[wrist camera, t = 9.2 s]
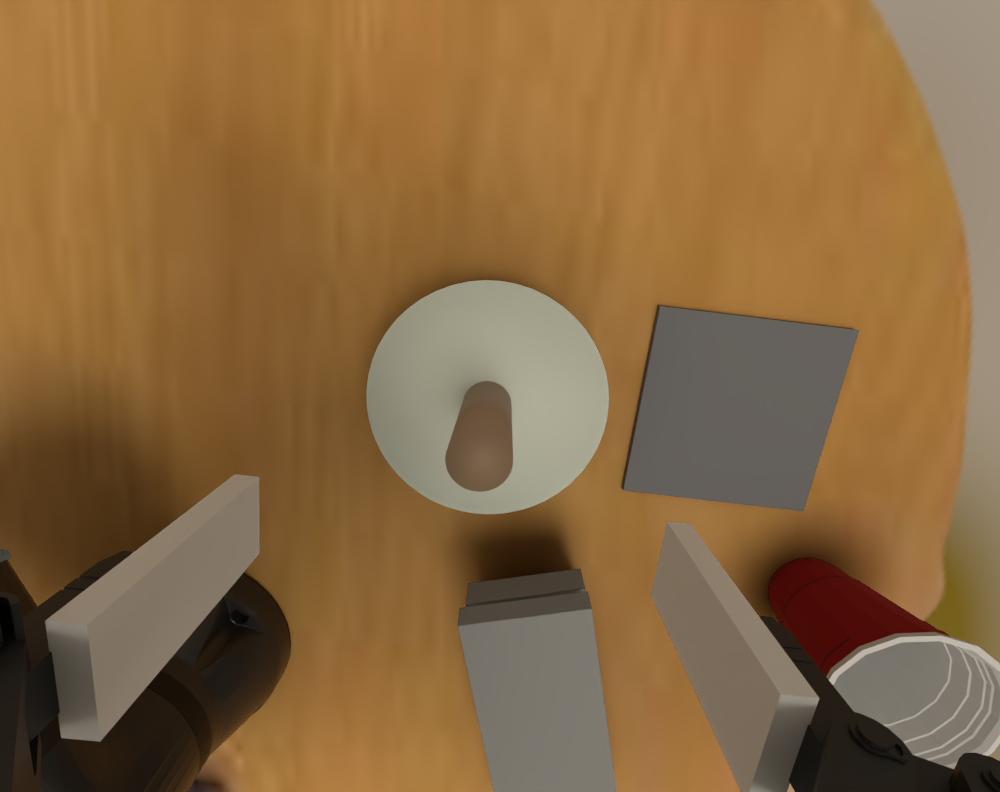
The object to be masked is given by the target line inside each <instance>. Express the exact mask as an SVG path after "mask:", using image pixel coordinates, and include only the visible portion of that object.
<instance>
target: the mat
mask: <svg viewBox="0 0 1000 792" xmlns="http://www.w3.org/2000/svg"><path fill="white" fill-rule="evenodd" d="M858 332H859V330H854V329H846V328H838V327H830V326H822V325H814V324H805V323H797V322H789V321H781V320H773V319H765V318H756V317H748V316H740V315H732V314H724V313H715V312H707V311H699V310H691V309H683V308H674V307H666V306H658V308H657V313H656V318H655V323H654V328H653V333H652V338H651V344H650V349H649V354H648V359H647V364H646V369H645V374H644V379H643V384H642V389H641V394H640V399H639V404H638V409H637V414H636V419H635V424H634V429H633V434H632V439H631V444H630V449H629V454H628V459H627V464H626V469H625V474H624V479H623V484H622V489H623V490H624V491H633V492H642V493H650V494H659V495H668V496H676V497H685V498H693V499H702V500H711V501H719V502H728V503H737V504H745V505H754V506H763V507H771V508H780V509H789V510H797V511H803V510H804V507H805V504H806V501H807V497H808V494H809V491H810V488H811V484H812V481H813V478H814V475H815V471H816V468H817V465H818V462H819V458H820V455H821V452H822V449H823V445H824V442H825V439H826V436H827V432H828V429H829V426H830V423H831V419H832V416H833V413H834V410H835V406H836V403H837V400H838V397H839V393H840V390H841V387H842V384H843V380H844V377H845V374H846V371H847V367H848V364H849V361H850V358H851V354H852V351H853V348H854V345H855V341H856V338H857V335H858Z"/></svg>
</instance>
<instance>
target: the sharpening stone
mask: <svg viewBox="0 0 1000 792" xmlns="http://www.w3.org/2000/svg"><path fill="white" fill-rule="evenodd" d="M458 630H459V635H460V639H461V644H462V648H463V653H464V657H465V662H466V667H467V671H468V676H469V680H470V685H471V689H472V694H473V699H474V703H475V708H476V712H477V717H478V721H479V726H480V731H481V735H482V740H483V744H484V749H485V753H486V758H487V763H488V767H489V772H490V776H491V781H492V785H493V790H494V792H616V785H615V778H614V770H613V763H612V755H611V748H610V741H609V733H608V726H607V718H606V711H605V704H604V696H603V689H602V681H601V674H600V667H599V659H598V652H597V644H596V637H595V630H594V622H593V615H592V608H591V604H590V600H589V596H588V592H586V591H585V586H584V582H583V578H582V573H581V569H574V570H566V571H558V572H551V573H543V574H536V575H528V576H521V577H513V578H506V579H498V580H491V581H483V582H476V583H468V590H467V598H466V607H464V608H460V612H459V619H458Z"/></svg>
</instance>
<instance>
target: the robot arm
mask: <svg viewBox="0 0 1000 792" xmlns="http://www.w3.org/2000/svg"><path fill="white" fill-rule="evenodd" d="M259 554H260V519H259V477H256V476H247V475H238V474H234V475H233V476H232V477H231V478H229V479H228V480H227V481H225V482H224V483H223V484H221V485H220V486H219V487H218V488H216V489H215V490H214V491H212V492H211V493H210V494H208V495H207V496H206V497H205V498H203V499H202V500H201V501H199V502H198V503H197V504H196V505H194V506H193V507H192V508H190V509H189V510H188V511H186V512H185V513H184V514H183V515H181V516H180V517H179V518H177V519H176V520H175V521H174V522H172V523H171V524H170V525H168V526H167V527H166V528H164V529H163V530H162V531H161V532H159V533H158V534H157V535H155V536H154V537H153V538H152V539H150V540H149V541H148V542H146V543H145V544H144V545H142V546H141V547H140V548H139V549H137V550H136V551H135V552H128V551H122V552H120V553H118V554H116V555H114V556H111V557H109V558H107V559H105V560H102V561H100V562H98V563H97V564H96V565H94V566H93V567H92V568H90V569H89V570H87V571H86V572H85V573H83V574H82V575H81V576H80V578H79V579H77V578H76V579H75V580H74V581H72V582H71V583H70V584H68V585H67V586H65V588H64V590H60V591H59V592H57V593H56V594H55V595H53V596H52V597H50V598H49V599H48V600H46V601H45V602H44V603H42V604H41V605H39V606H38V607H37V605H36V604H35V602H34V601H33V599H32V597H31V596H30V594H29V593H28V591H27V590H26V588H25V587H24V585H23V584H22V582H21V580H20V579H19V577H18V576H17V574H16V573H15V571H14V570H13V568H12V567H11V565H10V563H9V562H8V560H7V559H10V558H11V555H10V553H9V552H8V551H7V550H5V549H0V792H188V790H189V789H190V787H191V785H192V783H193V782H194V780H195V778H196V776H197V775H198V773H199V771H200V770H201V768H202V767H203V765H204V764H205V762H206V760H207V759H208V757H209V756H210V754H211V753H212V752H213V751H215V750H216V749H217V748H218V747H219V746H220V745H221V744H222V743H223V742H224V741H225V740H226V739H227V738H229V737H230V736H231V735H232V734H233V733H234V732H235V731H236V730H237V729H238V728H239V727H240V726H241V725H242V724H243V723H244V722H245V721H246V720H247V719H248V718H249V717H250V716H251V715H252V714H254V713H255V712H256V711H257V710H259V709H260V708H261V707H262V706H263V704H264V703H265V702H266V701H267V700H268V698H269V697H270V695H271V694H272V692H273V691H274V689H275V687H276V685H277V683H278V682H279V680H280V678H281V676H282V674H283V673H284V671H285V668H286V666H287V663H288V660H289V655H290V636H289V631H288V627H287V624H286V621H285V619H284V617H283V615H282V613H281V611H280V609H279V607H278V606H277V604H276V603H275V602H274V600H273V599H272V598H271V597H270V596H269V594H268V593H267V592H266V591H265V590H264V589H263V588H262V587H260V586H259V585H258V584H257V583H256V582H254V581H253V580H252V579H250V578H249V577H247V576H245V575H244V574H243V573H244V571H245V570H246V569H247V568H248V567H249V566H250V564H251V563H252V562H253V561H254V560H255V558H256V557H257V556H258V555H259ZM651 596H652V599H653V601H654V603H655V605H656V607H657V610H658V612H659V614H660V616H661V618H662V620H663V623H664V625H665V627H666V629H667V631H668V634H669V636H670V638H671V640H672V642H673V644H674V647H675V649H676V651H677V653H678V655H679V658H680V660H681V662H682V664H683V666H684V668H685V671H686V673H687V675H688V677H689V679H690V682H691V684H692V686H693V688H694V690H695V693H696V695H697V697H698V699H699V701H700V703H701V706H702V708H703V710H704V712H705V714H706V717H707V719H708V721H709V723H710V725H711V727H712V730H713V732H714V734H715V736H716V738H717V741H718V743H719V745H720V747H721V749H722V751H723V754H724V756H725V758H726V760H727V762H728V765H729V767H730V769H731V771H732V773H733V775H734V778H735V780H736V782H737V784H738V786H739V789H740V791H741V792H787V790H788V787H789V784H790V783H791V785H792V787H793V789H794V790H795V792H1000V761H998V760H996V759H994V758H992V757H989V756H986V755H982V754H979V753H964V754H963V755H962V756H961V757H960V758H959V760H958V762H957V764H956V766H955V768H954V769H952V768H949V767H946V766H943V765H940V764H937V763H935V762H932V761H929V760H926V759H923V758H920V757H917V756H915V755H912V753H911V752H910V750H909V749H908V748H907V746H906V745H905V744H904V742H903V741H902V740H901V739H900V738H899V737H898V736H896V735H895V734H894V733H893V732H892V731H891V730H890V729H888V728H887V727H885V726H884V725H882V724H881V723H879V722H877V721H876V720H874V719H872V718H870V717H867V716H865V715H863V714H860V713H856V712H854V711H853V710H852V709H851V707H850V706H849V705H848V704H847V702H846V701H845V700H844V699H843V697H842V696H841V695H840V694H839V692H838V691H837V690H836V689H835V687H834V686H833V685H832V683H831V682H830V681H829V680H828V678H827V677H826V676H825V675H824V673H823V672H822V671H821V670H820V668H819V667H818V666H816V665H815V664H814V663H815V662H814V661H813V660H812V658H811V657H810V656H809V655H808V653H807V652H804V648H803V647H802V646H801V645H800V643H799V642H798V641H797V639H796V638H795V637H794V636H793V634H792V633H791V632H790V631H789V630H787V629H786V628H785V627H783V626H782V625H781V624H780V623H778V622H777V621H776V620H775V619H773V618H772V617H764V616H758V614H757V613H756V612H755V610H754V609H753V608H752V606H751V605H750V604H749V602H748V601H747V600H746V598H745V597H744V596H743V594H742V593H741V592H740V590H739V589H738V587H737V586H736V585H735V583H734V582H733V581H732V579H731V578H730V577H729V575H728V574H727V573H726V571H725V570H724V569H723V567H722V566H721V564H720V563H719V562H718V560H717V559H716V558H715V556H714V555H713V554H712V552H711V551H710V550H709V548H708V547H707V546H706V544H705V543H704V542H703V540H702V539H701V537H700V536H699V535H698V533H697V532H696V531H695V529H694V528H693V527H692V525H691V524H686V523H677V522H668V521H667V525H666V529H665V534H664V538H663V542H662V547H661V551H660V556H659V560H658V564H657V569H656V573H655V578H654V582H653V586H652V591H651Z"/></svg>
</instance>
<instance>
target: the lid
mask: <svg viewBox="0 0 1000 792" xmlns="http://www.w3.org/2000/svg"><path fill="white" fill-rule="evenodd" d="M366 396H367V411H368V418H369V422H370V426H371V429H372V433H373V436H374V438H375V440H376V443H377V445H378V447H379V449H380V451H381V453H382V454H383V456H384V458H385V459H386V461H387V462H388V464H389V465H390V466H391V467H392V469H393V470H394V471H395V472H396V474H397V475H398V476H399V477H400V478H401V479H403V480H404V481H405V482H406V483H407V484H408V485H409V486H410V487H412V488H413V489H414V490H416V491H417V492H418V493H420V494H421V495H423V496H425V497H427V498H428V499H430V500H432V501H434V502H436V503H438V504H441V505H443V506H445V507H449V508H452V509H455V510H459V511H463V512H469V513H475V514H502V513H509V512H514V511H519V510H523V509H526V508H529V507H532V506H535V505H537V504H539V503H541V502H544V501H546V500H548V499H549V498H551V497H553V496H554V495H556V494H557V493H559V492H560V491H562V490H563V489H564V488H565V487H567V486H568V485H569V484H570V483H572V482H573V481H574V480H575V478H576V477H577V476H578V475H579V474H580V473H581V472H582V471H583V470H584V468H585V467H586V466H587V464H588V463H589V462H590V460H591V459H592V457H593V455H594V453H595V451H596V450H597V448H598V446H599V443H600V441H601V438H602V436H603V433H604V429H605V425H606V421H607V415H608V406H609V390H608V382H607V376H606V371H605V368H604V365H603V361H602V358H601V356H600V354H599V352H598V349H597V347H596V345H595V343H594V342H593V340H592V338H591V337H590V335H589V334H588V332H587V331H586V329H585V328H584V327H583V326H582V325H581V323H580V322H579V321H578V320H577V319H576V318H575V317H574V316H573V315H572V314H571V313H570V312H569V311H568V310H566V309H565V308H564V307H563V306H562V305H560V304H559V303H557V302H556V301H554V300H553V299H551V298H550V297H548V296H546V295H544V294H542V293H540V292H538V291H536V290H534V289H532V288H529V287H526V286H523V285H520V284H516V283H511V282H505V281H496V280H478V281H468V282H463V283H459V284H454V285H451V286H448V287H445V288H443V289H440V290H437V291H435V292H433V293H431V294H429V295H427V296H425V297H423V298H422V299H420V300H419V301H417V302H416V303H415V304H413V305H412V306H410V307H409V308H408V309H407V310H406V311H404V312H403V313H402V314H401V315H400V316H399V317H398V318H397V319H396V320H395V322H394V323H393V324H392V325H391V327H390V328H389V329H388V330H387V332H386V333H385V335H384V337H383V338H382V340H381V342H380V343H379V345H378V347H377V350H376V352H375V354H374V357H373V359H372V363H371V366H370V370H369V374H368V381H367V390H366Z"/></svg>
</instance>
